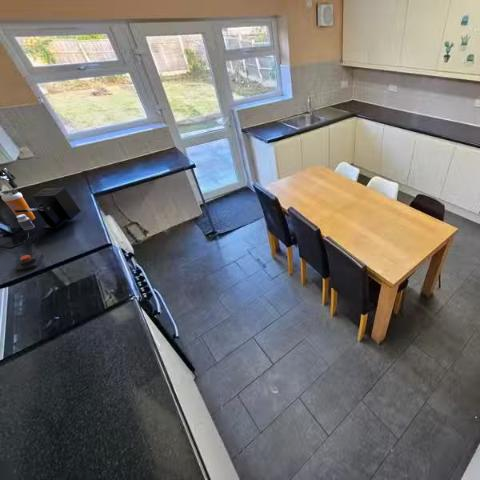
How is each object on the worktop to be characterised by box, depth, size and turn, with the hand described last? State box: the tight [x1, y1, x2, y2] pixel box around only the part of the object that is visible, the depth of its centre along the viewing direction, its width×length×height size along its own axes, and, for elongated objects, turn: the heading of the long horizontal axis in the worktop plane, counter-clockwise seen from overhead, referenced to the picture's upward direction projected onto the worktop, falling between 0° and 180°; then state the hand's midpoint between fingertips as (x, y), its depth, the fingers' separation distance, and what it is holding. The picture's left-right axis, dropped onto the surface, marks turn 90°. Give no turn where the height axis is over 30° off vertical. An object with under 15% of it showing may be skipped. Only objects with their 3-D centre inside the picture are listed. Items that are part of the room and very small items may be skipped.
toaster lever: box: [15, 207, 44, 213], centre depth 159 cm, size 15×6×2 cm, turn 3°
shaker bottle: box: [0, 189, 36, 222], centre depth 171 cm, size 9×9×20 cm
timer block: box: [15, 253, 45, 272], centre depth 142 cm, size 10×8×4 cm
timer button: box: [19, 254, 31, 262], centre depth 141 cm, size 4×4×2 cm
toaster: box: [32, 187, 82, 221], centre depth 174 cm, size 10×13×18 cm
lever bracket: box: [34, 204, 68, 230], centre depth 168 cm, size 10×8×14 cm
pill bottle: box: [15, 214, 35, 231], centre depth 167 cm, size 5×5×9 cm
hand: (8, 189), depth 145 cm, fingers open, 8 cm apart
